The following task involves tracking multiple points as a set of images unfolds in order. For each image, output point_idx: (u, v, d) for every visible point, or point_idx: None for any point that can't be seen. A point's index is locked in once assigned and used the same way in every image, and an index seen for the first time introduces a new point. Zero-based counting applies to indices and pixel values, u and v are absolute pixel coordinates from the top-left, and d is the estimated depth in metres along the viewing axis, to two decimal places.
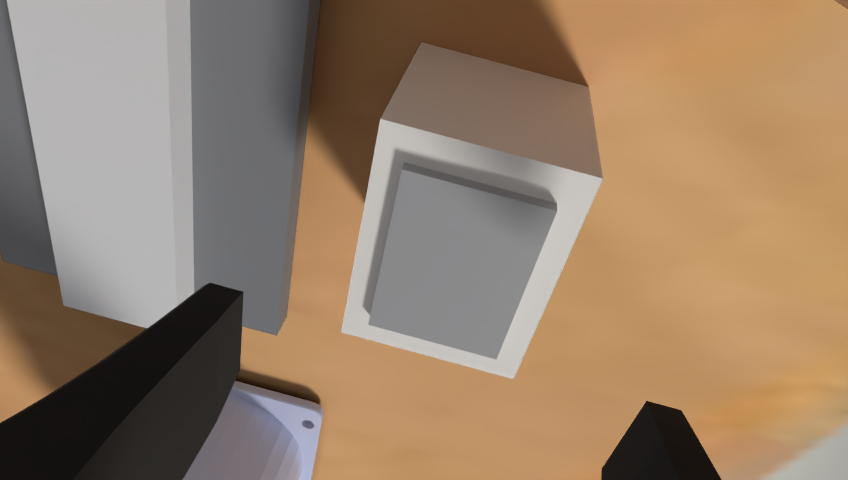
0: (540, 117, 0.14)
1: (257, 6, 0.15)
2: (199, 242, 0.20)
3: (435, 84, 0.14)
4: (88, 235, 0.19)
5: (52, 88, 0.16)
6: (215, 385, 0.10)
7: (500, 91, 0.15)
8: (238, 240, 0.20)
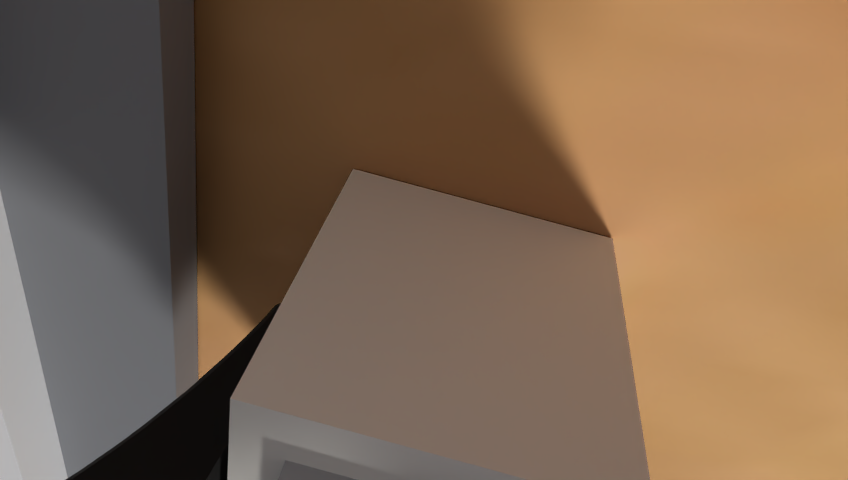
0: (537, 337, 0.08)
1: (85, 123, 0.10)
2: (60, 415, 0.14)
3: (358, 272, 0.08)
4: None
5: None
6: None
7: (470, 276, 0.09)
8: (111, 416, 0.14)
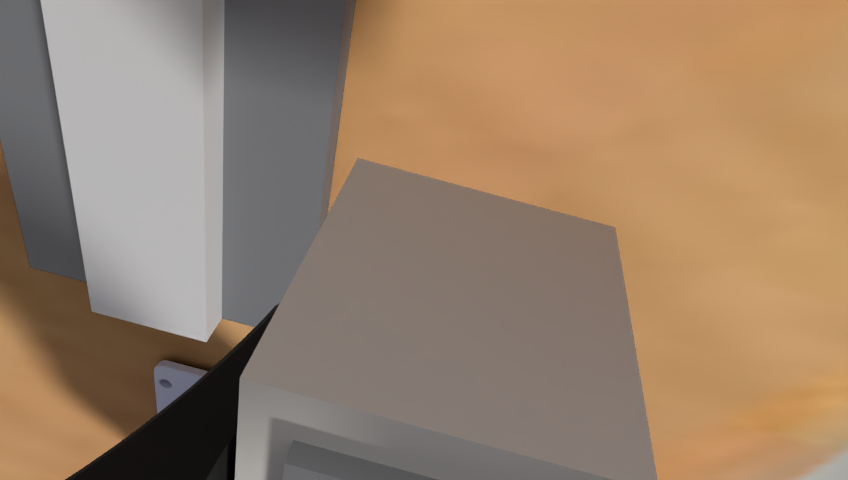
0: (541, 322, 0.08)
1: (292, 10, 0.15)
2: (228, 247, 0.20)
3: (365, 258, 0.08)
4: (118, 241, 0.19)
5: (85, 94, 0.16)
6: None
7: (475, 263, 0.09)
8: (267, 245, 0.19)
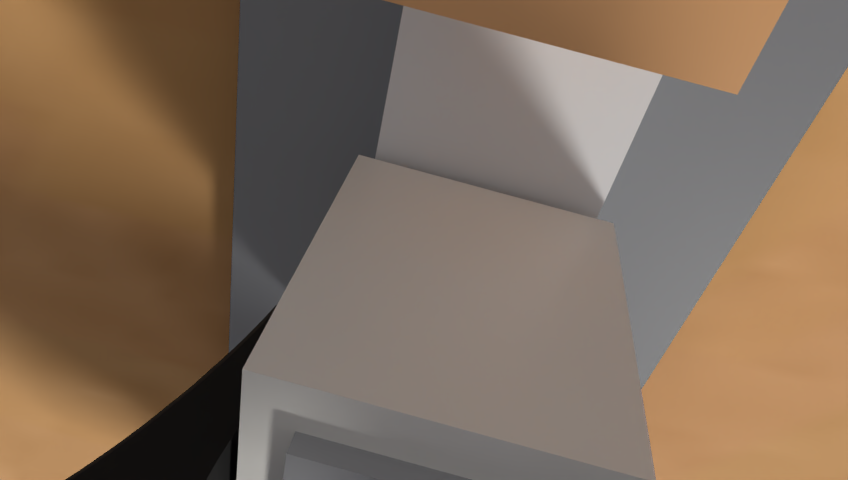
0: (540, 315, 0.08)
1: (708, 156, 0.11)
2: None
3: (365, 252, 0.08)
4: None
5: None
6: None
7: (474, 258, 0.09)
8: None
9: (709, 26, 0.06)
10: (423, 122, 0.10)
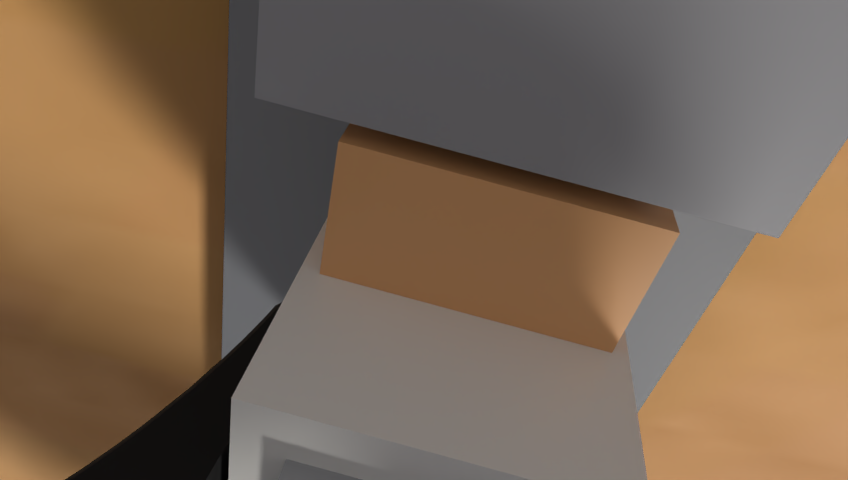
0: (535, 336, 0.08)
1: None
2: None
3: None
4: None
5: None
6: None
7: None
8: None
9: (585, 310, 0.08)
10: None
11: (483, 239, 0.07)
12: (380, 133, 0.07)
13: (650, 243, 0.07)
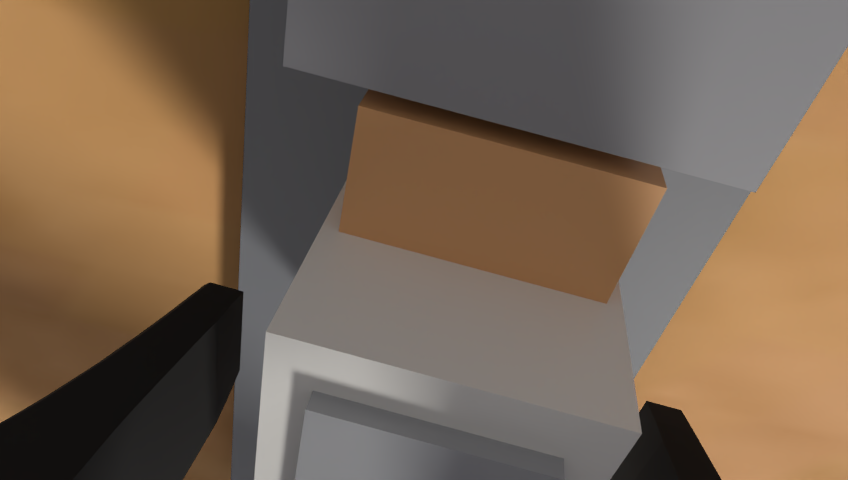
0: (537, 288, 0.09)
1: None
2: None
3: None
4: None
5: None
6: (215, 385, 0.10)
7: None
8: None
9: (582, 263, 0.09)
10: None
11: (488, 196, 0.08)
12: (395, 99, 0.08)
13: (640, 198, 0.08)
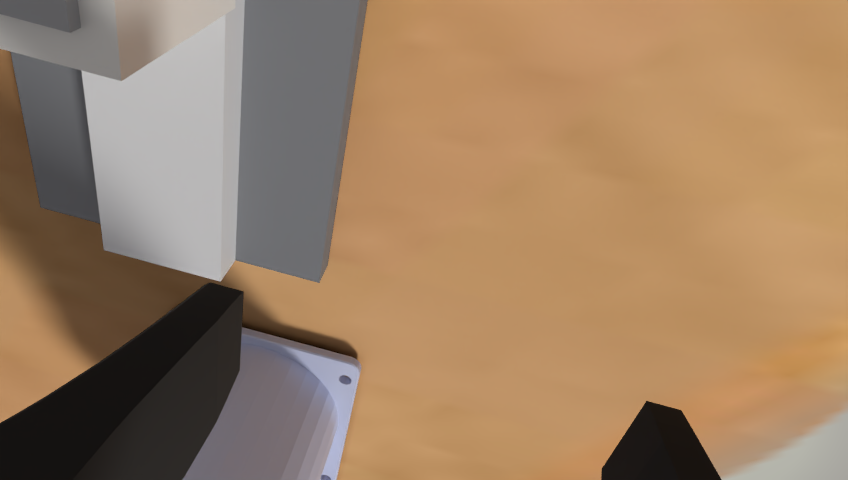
0: None
1: None
2: (244, 182, 0.19)
3: None
4: (133, 172, 0.18)
5: None
6: (215, 385, 0.10)
7: None
8: (284, 179, 0.19)
9: None
10: None
11: None
12: None
13: None
